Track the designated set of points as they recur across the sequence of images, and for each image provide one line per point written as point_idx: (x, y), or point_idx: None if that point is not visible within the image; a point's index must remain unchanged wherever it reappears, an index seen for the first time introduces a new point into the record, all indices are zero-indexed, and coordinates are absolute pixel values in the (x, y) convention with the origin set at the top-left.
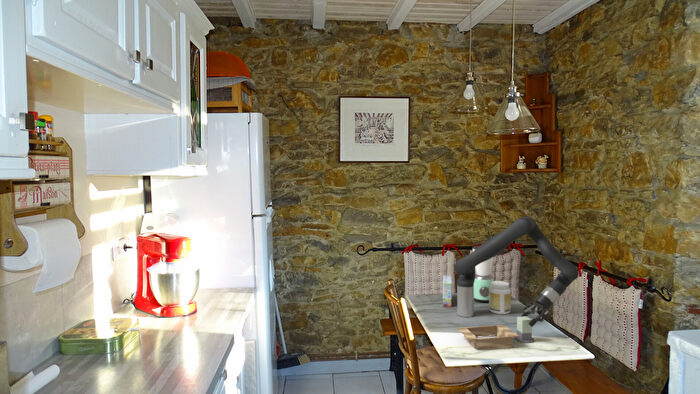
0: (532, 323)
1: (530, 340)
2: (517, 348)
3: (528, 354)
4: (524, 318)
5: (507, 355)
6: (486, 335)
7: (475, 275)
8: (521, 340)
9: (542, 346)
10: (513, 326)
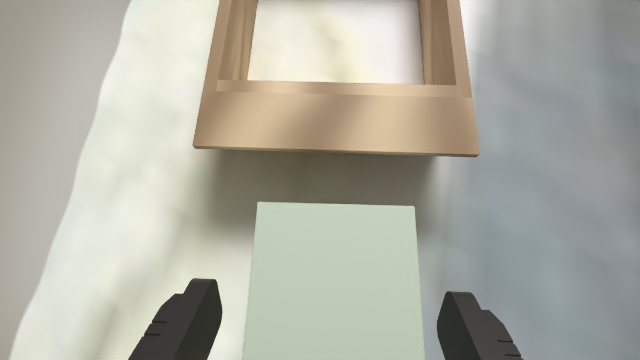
0: (158, 315)
1: None
2: None
3: (104, 165)
4: (324, 282)
5: (142, 54)
6: (425, 63)
7: None
8: None
9: None
10: (627, 357)
